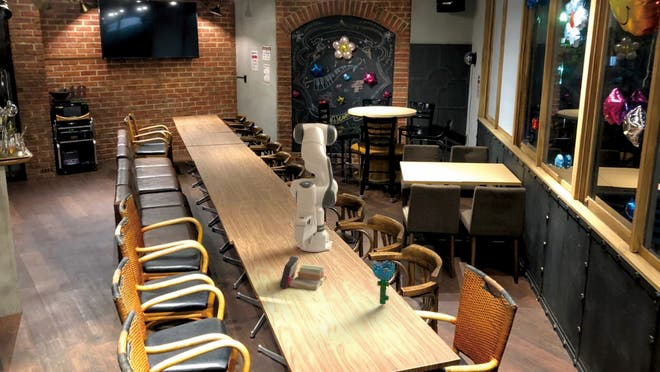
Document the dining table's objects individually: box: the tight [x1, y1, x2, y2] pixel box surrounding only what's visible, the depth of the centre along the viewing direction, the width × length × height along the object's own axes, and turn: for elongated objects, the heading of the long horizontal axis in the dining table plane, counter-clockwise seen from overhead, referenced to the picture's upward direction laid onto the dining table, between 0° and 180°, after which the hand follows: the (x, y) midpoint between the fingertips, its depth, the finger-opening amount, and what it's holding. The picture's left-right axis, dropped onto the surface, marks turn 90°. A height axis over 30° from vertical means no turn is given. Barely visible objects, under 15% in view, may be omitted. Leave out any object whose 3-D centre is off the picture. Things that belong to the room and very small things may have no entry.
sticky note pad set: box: [289, 263, 328, 291], centre depth 279 cm, size 15×13×7 cm
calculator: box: [279, 255, 300, 289], centre depth 278 cm, size 11×4×15 cm
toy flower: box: [372, 260, 396, 306], centre depth 255 cm, size 9×9×18 cm
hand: (306, 246), depth 273 cm, fingers open, 8 cm apart
